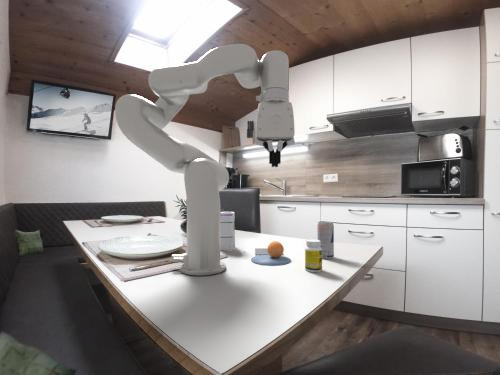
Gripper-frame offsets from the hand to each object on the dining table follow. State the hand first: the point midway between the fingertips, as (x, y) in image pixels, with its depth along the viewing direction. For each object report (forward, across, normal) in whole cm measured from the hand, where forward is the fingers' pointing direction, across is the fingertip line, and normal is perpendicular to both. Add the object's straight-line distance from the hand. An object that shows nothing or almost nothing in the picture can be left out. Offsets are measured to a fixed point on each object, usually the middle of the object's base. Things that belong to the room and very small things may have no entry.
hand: (274, 166), depth 71 cm
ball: (+26, +2, +18) cm, 32 cm away
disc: (+29, 0, +15) cm, 33 cm away
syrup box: (+29, -16, +32) cm, 46 cm away
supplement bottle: (+29, +11, +4) cm, 32 cm away
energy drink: (+29, +19, +19) cm, 40 cm away
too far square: (+29, 0, +27) cm, 40 cm away
